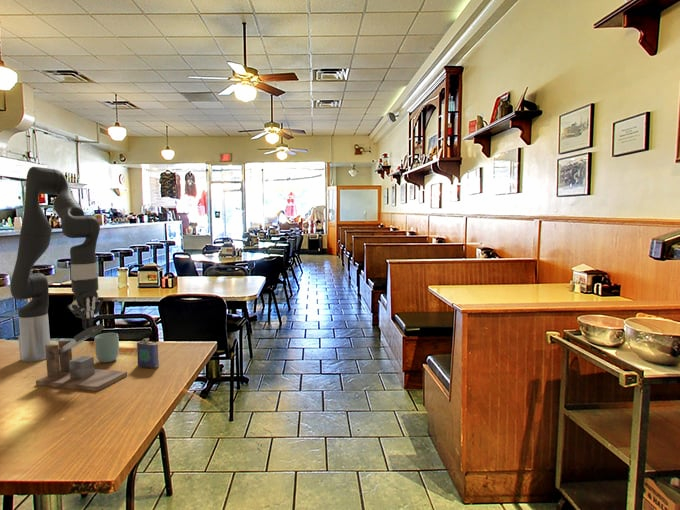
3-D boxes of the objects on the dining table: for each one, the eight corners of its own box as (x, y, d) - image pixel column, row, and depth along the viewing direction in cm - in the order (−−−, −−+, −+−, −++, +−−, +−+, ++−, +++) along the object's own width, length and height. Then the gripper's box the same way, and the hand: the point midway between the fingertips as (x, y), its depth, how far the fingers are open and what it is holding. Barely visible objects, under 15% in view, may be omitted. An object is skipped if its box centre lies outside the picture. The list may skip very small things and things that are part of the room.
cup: (123, 357, 164) (122, 332, 163) (111, 364, 157) (109, 338, 156) (105, 357, 165) (103, 332, 164) (91, 364, 157) (89, 338, 156)
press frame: (36, 385, 138) (33, 348, 137) (69, 370, 151) (67, 336, 150) (97, 391, 133) (95, 353, 132) (127, 375, 146) (125, 340, 144)
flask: (160, 366, 154) (159, 338, 153) (154, 369, 152) (152, 340, 150) (141, 363, 158) (139, 335, 157) (135, 366, 155) (133, 338, 154)
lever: (49, 359, 140) (46, 353, 140) (66, 353, 146) (63, 348, 146) (89, 334, 136) (86, 328, 136) (104, 328, 142) (101, 323, 142)
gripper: (90, 274, 145) (94, 323, 147) (57, 279, 132) (61, 333, 134) (109, 274, 143) (112, 324, 145) (77, 280, 130) (81, 335, 132)
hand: (88, 328), depth 139 cm, fingers closed
